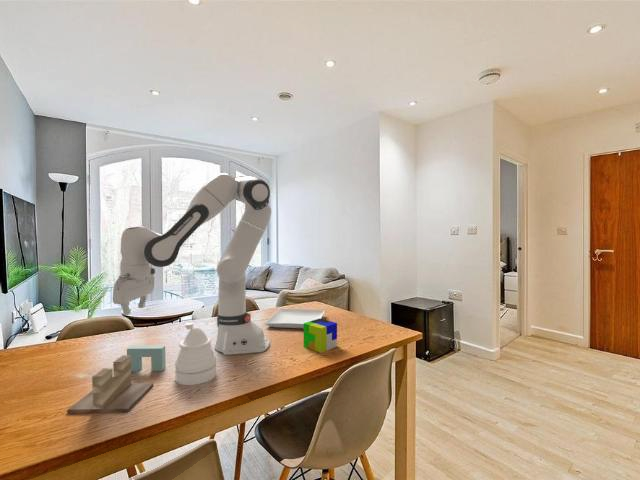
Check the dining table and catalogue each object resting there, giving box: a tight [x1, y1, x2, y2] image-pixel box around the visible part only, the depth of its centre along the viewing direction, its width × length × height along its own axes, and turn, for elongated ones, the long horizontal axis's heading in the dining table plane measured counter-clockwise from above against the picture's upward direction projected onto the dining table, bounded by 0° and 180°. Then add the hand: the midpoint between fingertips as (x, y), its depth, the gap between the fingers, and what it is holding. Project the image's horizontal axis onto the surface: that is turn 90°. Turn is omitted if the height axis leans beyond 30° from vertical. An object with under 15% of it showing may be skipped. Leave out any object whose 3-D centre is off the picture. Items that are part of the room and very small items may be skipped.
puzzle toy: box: [303, 318, 338, 354], centre depth 134 cm, size 10×10×10 cm
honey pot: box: [174, 322, 217, 386], centre depth 107 cm, size 13×13×18 cm
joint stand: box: [66, 354, 154, 414], centre depth 93 cm, size 16×14×10 cm
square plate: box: [264, 308, 326, 330], centre depth 168 cm, size 27×27×4 cm
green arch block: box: [126, 345, 166, 372], centre depth 112 cm, size 12×2×8 cm, turn 92°
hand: (134, 310), depth 112 cm, fingers open, 8 cm apart
